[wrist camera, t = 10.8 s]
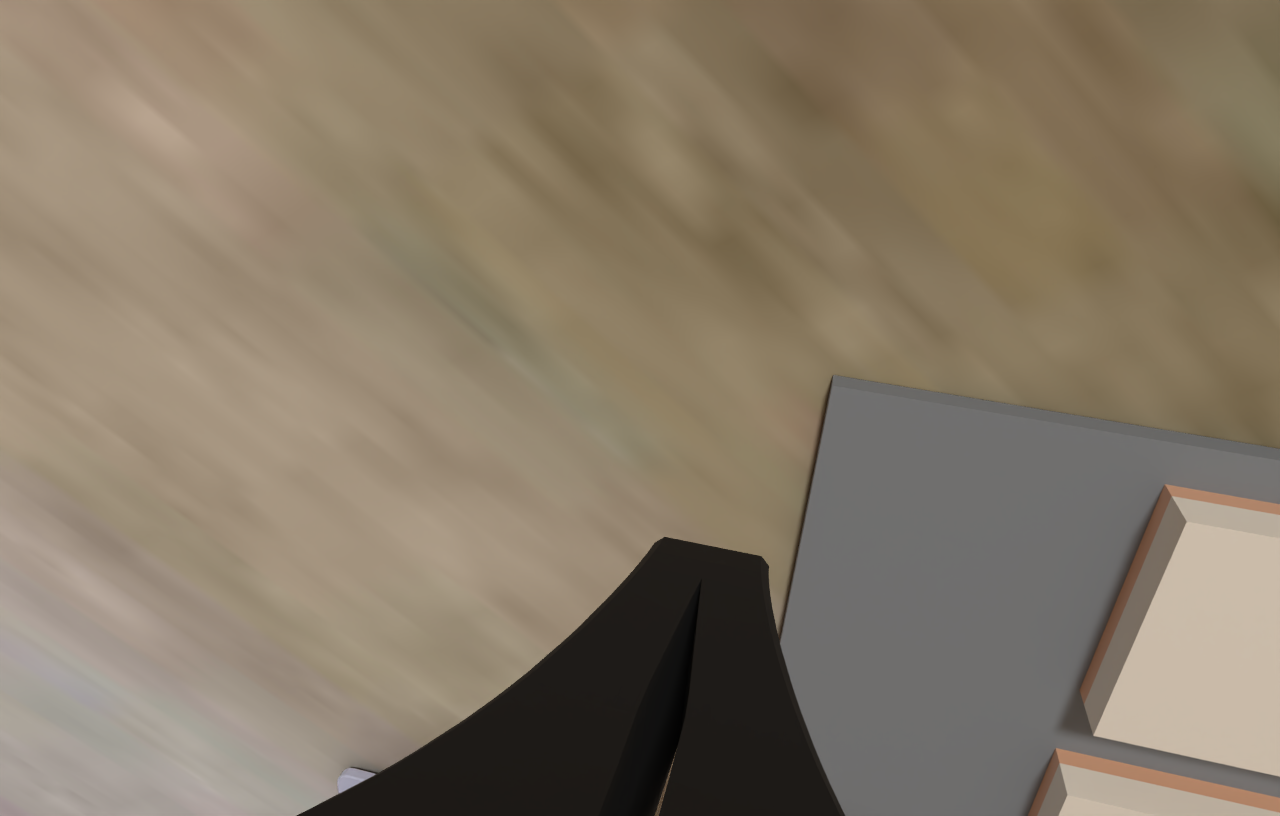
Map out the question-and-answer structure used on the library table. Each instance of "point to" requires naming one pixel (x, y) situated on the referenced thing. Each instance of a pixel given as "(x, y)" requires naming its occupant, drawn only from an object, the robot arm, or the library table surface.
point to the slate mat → (976, 591)
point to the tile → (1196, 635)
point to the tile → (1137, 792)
